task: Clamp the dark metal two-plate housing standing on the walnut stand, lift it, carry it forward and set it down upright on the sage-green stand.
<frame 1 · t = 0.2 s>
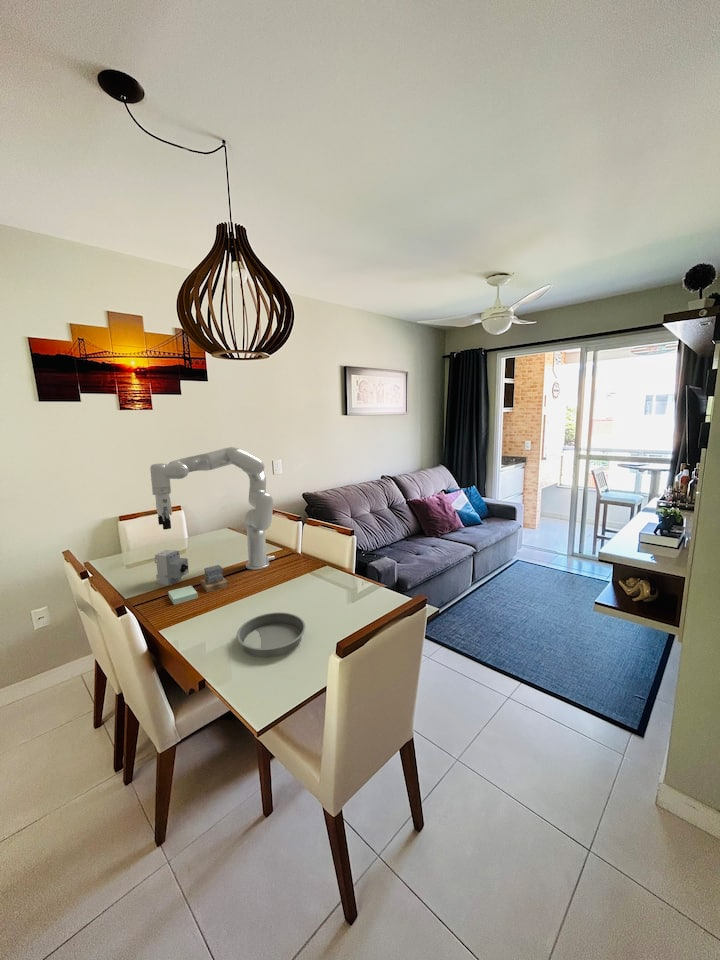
hand: (164, 526, 176), 31 cm above the table, tool pointing down, fingers open, 9 cm apart
stand green: (183, 597, 173), on the table
stand walnut: (214, 585, 184), on the table
cake pan: (272, 640, 140), on the table
circuit breaker: (174, 582, 189), on the table
housing: (214, 581, 184), point 2 cm above the table, touching stand walnut
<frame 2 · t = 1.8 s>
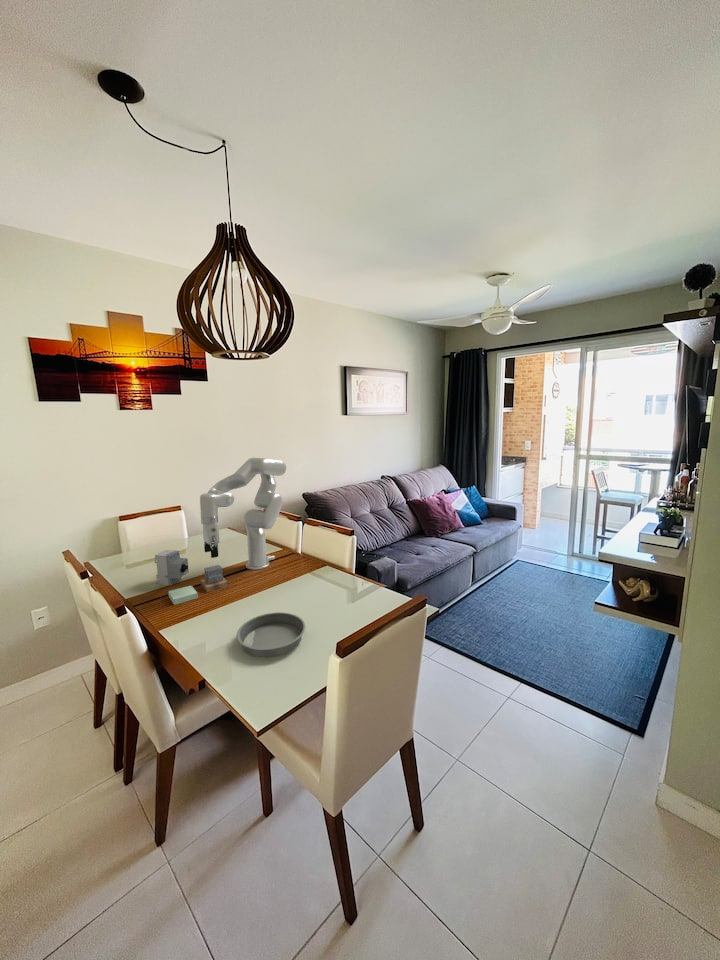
hand: (211, 554, 181), 16 cm above the table, tool pointing down, fingers open, 9 cm apart
nothing on the table moved.
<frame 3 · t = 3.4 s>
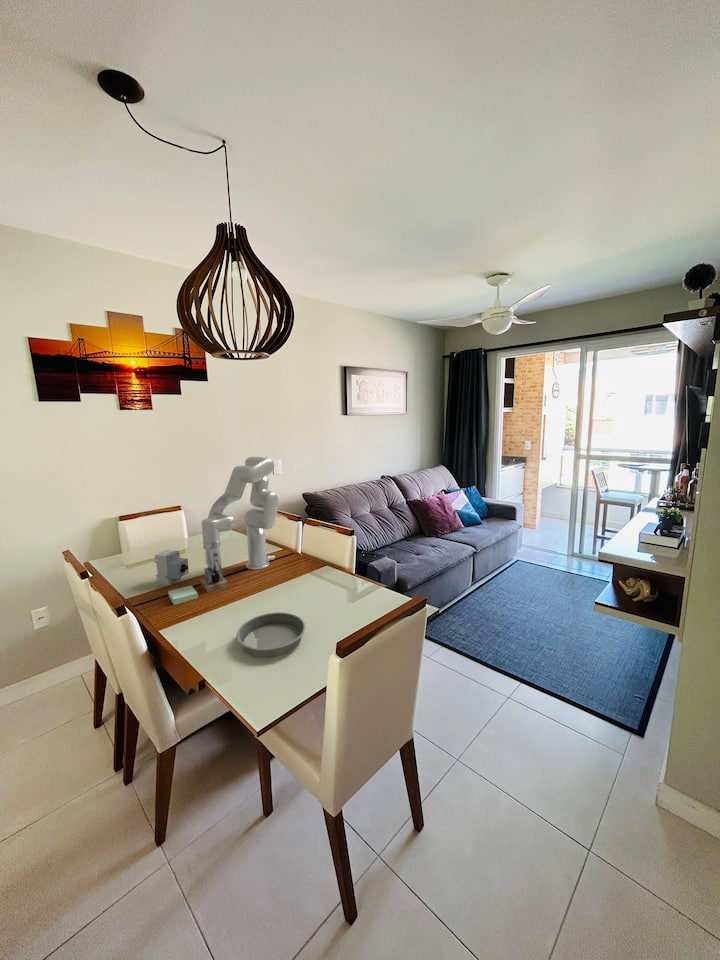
hand: (214, 579, 184), 3 cm above the table, tool pointing down, fingers closed on housing, 5 cm apart
housing: (214, 581, 184), point 2 cm above the table, touching gripper, stand walnut
everything else where it was.
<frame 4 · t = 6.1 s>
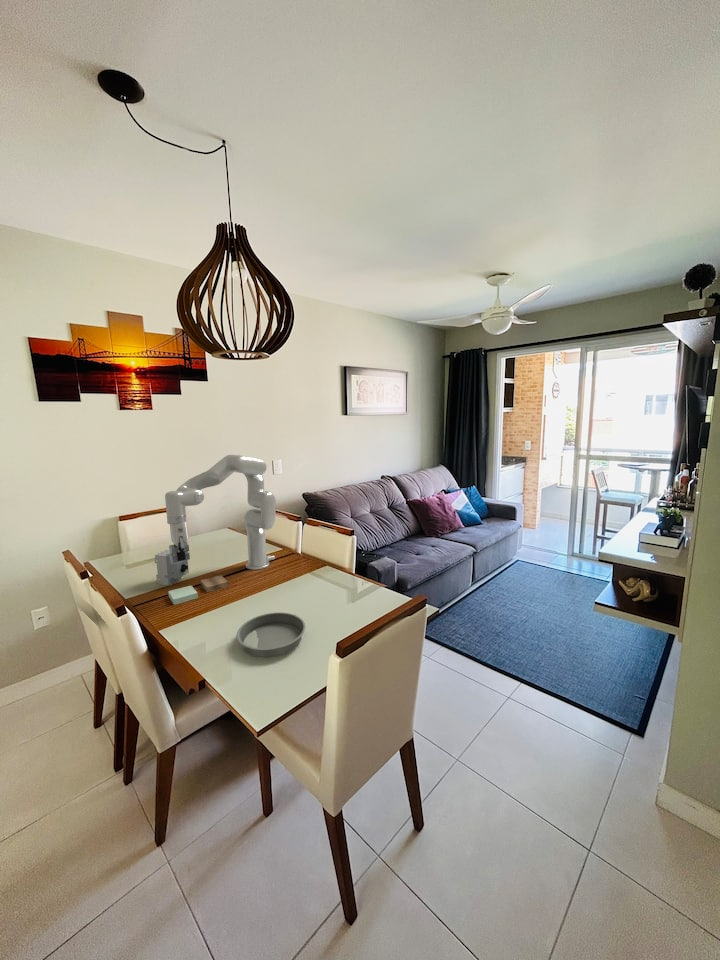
hand: (180, 557, 169), 19 cm above the table, tool pointing down, fingers closed on housing, 5 cm apart
housing: (180, 559, 170), point 18 cm above the table, touching gripper
everything else where it was.
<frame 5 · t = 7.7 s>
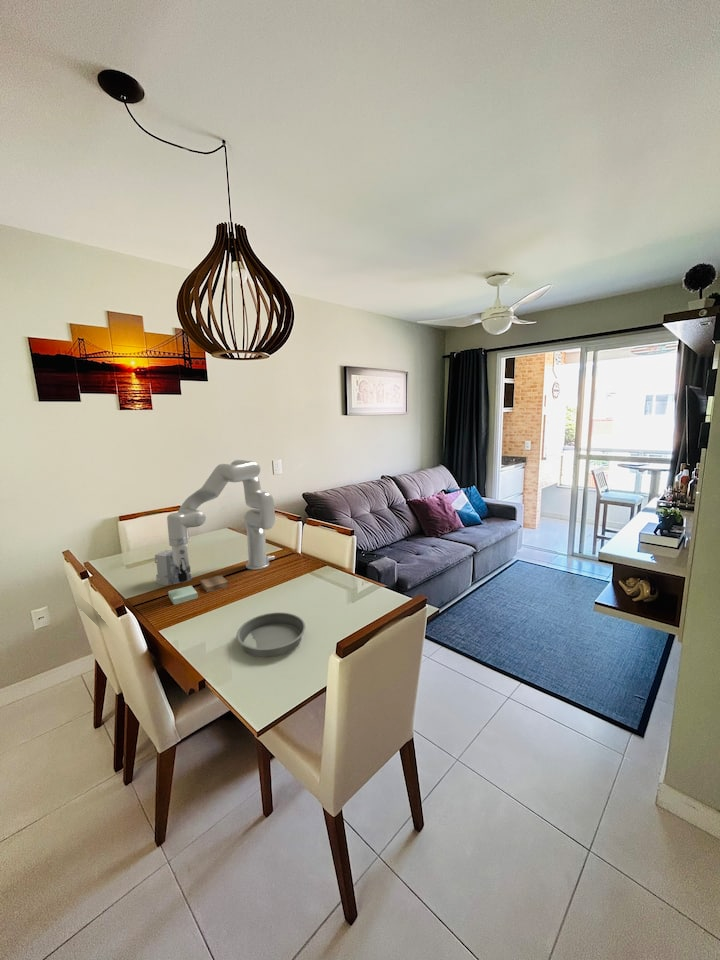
hand: (181, 578, 171), 9 cm above the table, tool pointing down, fingers closed on housing, 5 cm apart
housing: (181, 580, 171), point 8 cm above the table, touching gripper
everything else where it was.
when the fingers open (5 cm above the table, at t = 9.0 s): housing drops 1 cm, resting on stand green.
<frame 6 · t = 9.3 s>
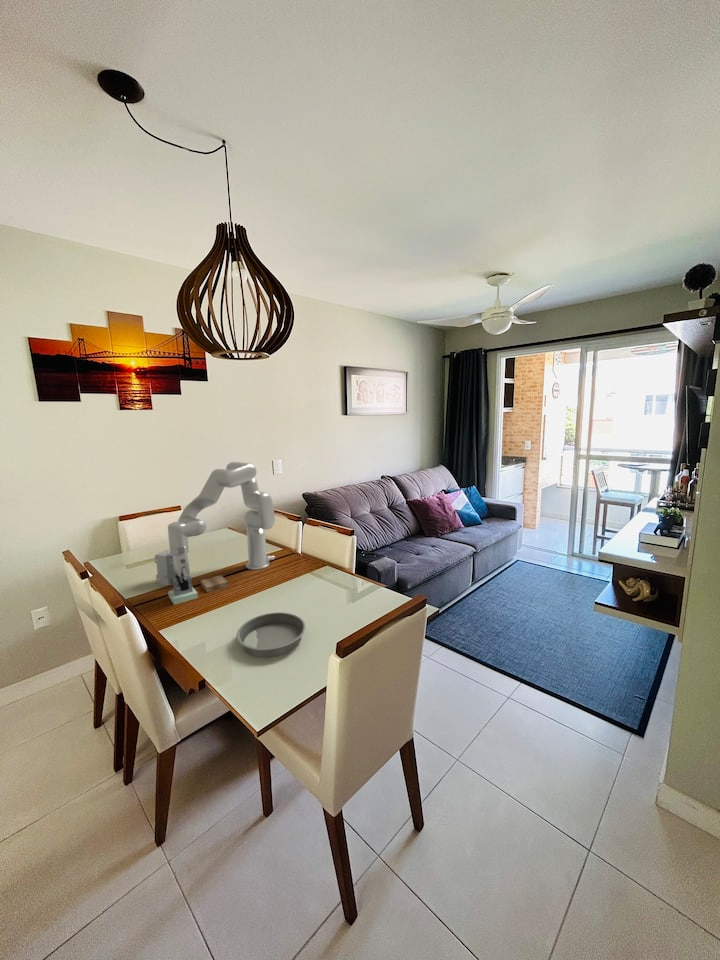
hand: (182, 586, 172), 5 cm above the table, tool pointing down, fingers open, 8 cm apart
housing: (183, 591, 172), point 2 cm above the table, touching stand green
everything else where it was.
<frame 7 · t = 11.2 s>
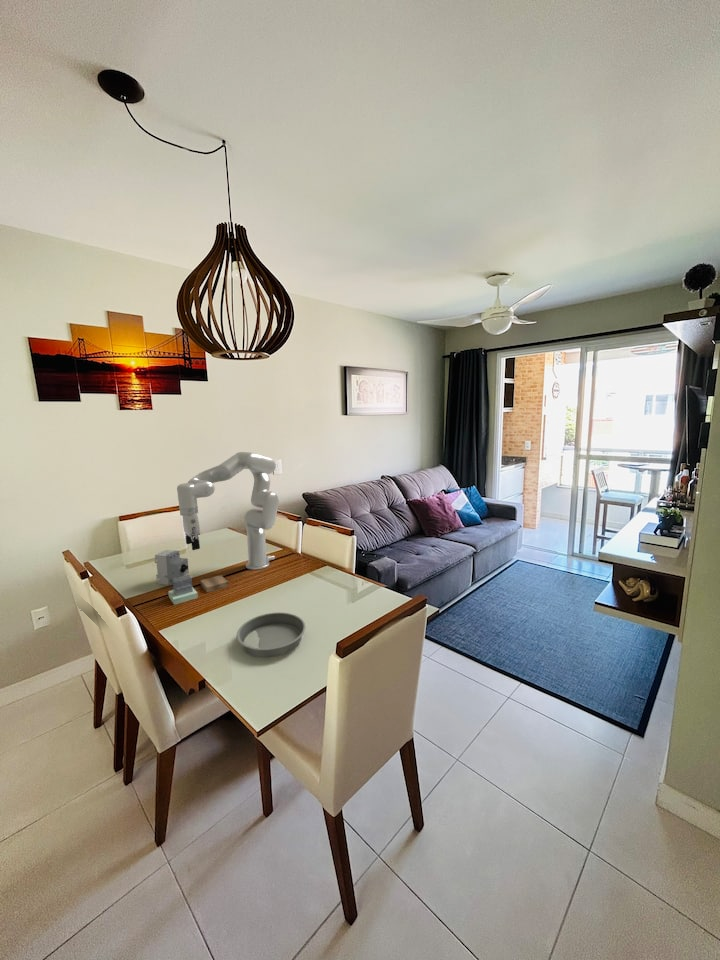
hand: (193, 546, 175), 22 cm above the table, tool pointing down, fingers open, 9 cm apart
nothing on the table moved.
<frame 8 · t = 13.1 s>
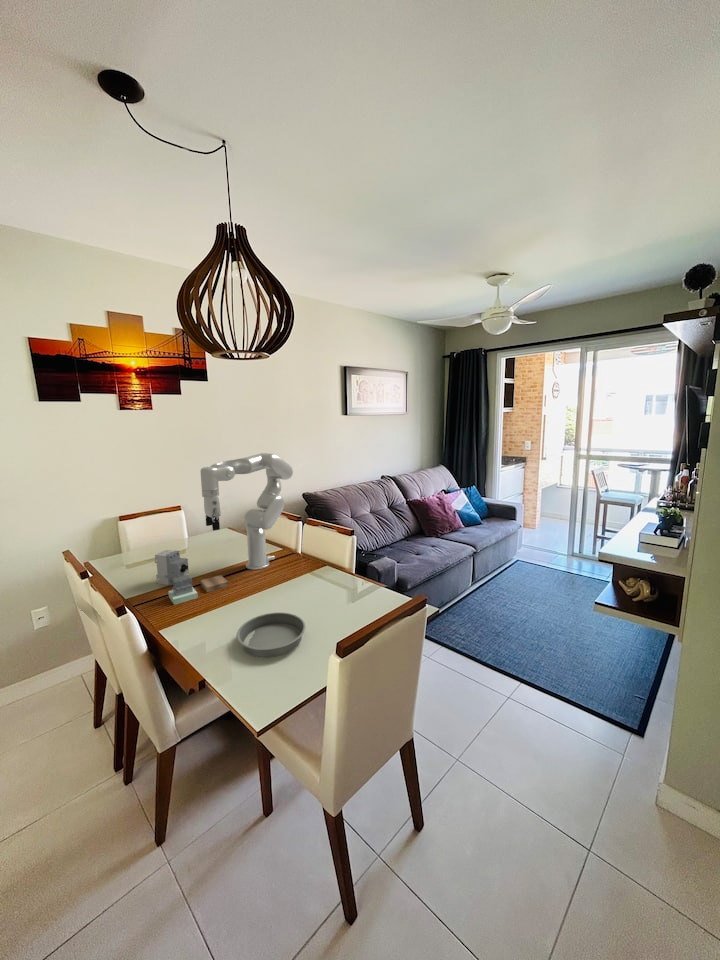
hand: (212, 527, 183), 28 cm above the table, tool pointing down, fingers open, 9 cm apart
nothing on the table moved.
at the end: housing inside the target area on the stand green (0.1 cm from its centre), point 2.5 cm above the stand green's base; housing tilted 0°; the gripper is holding nothing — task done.
